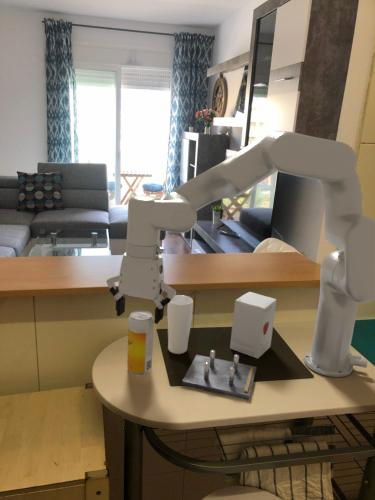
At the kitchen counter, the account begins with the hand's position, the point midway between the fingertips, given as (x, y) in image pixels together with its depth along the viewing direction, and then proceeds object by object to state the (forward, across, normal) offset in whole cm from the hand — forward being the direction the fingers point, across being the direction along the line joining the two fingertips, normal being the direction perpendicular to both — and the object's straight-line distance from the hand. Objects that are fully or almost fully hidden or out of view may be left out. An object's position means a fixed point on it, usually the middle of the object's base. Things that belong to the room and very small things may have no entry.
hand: (139, 317), depth 101 cm
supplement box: (+14, -26, -22) cm, 37 cm away
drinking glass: (+14, -7, -13) cm, 21 cm away
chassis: (+14, -21, -4) cm, 25 cm away
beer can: (+14, -1, 0) cm, 15 cm away
